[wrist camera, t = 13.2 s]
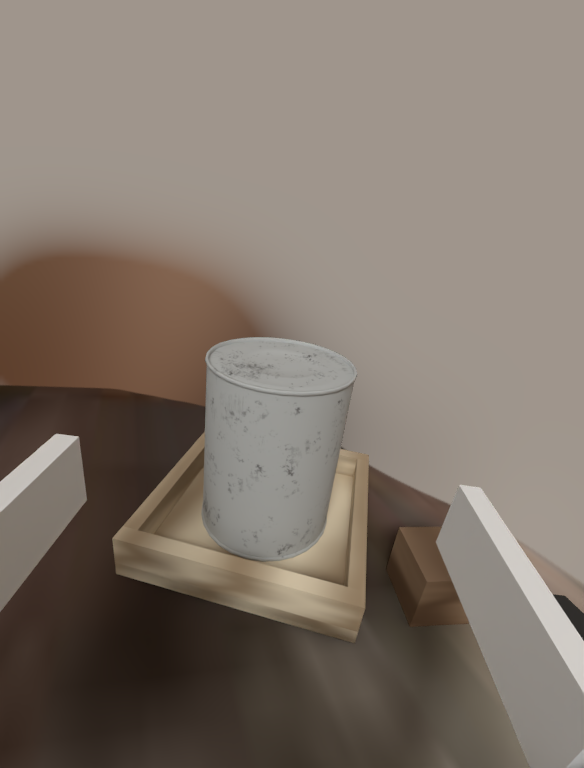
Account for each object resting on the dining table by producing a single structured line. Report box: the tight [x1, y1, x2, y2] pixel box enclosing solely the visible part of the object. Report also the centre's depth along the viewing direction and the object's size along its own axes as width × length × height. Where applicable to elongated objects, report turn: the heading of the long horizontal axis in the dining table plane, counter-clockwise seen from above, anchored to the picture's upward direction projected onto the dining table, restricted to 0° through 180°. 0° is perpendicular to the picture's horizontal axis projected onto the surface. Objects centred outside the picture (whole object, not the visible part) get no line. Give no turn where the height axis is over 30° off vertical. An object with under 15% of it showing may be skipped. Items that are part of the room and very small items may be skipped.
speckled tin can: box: [201, 337, 357, 562], centre depth 26 cm, size 10×10×12 cm
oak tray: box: [112, 432, 369, 643], centre depth 28 cm, size 15×15×3 cm
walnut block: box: [386, 527, 470, 627], centre depth 23 cm, size 4×4×4 cm
